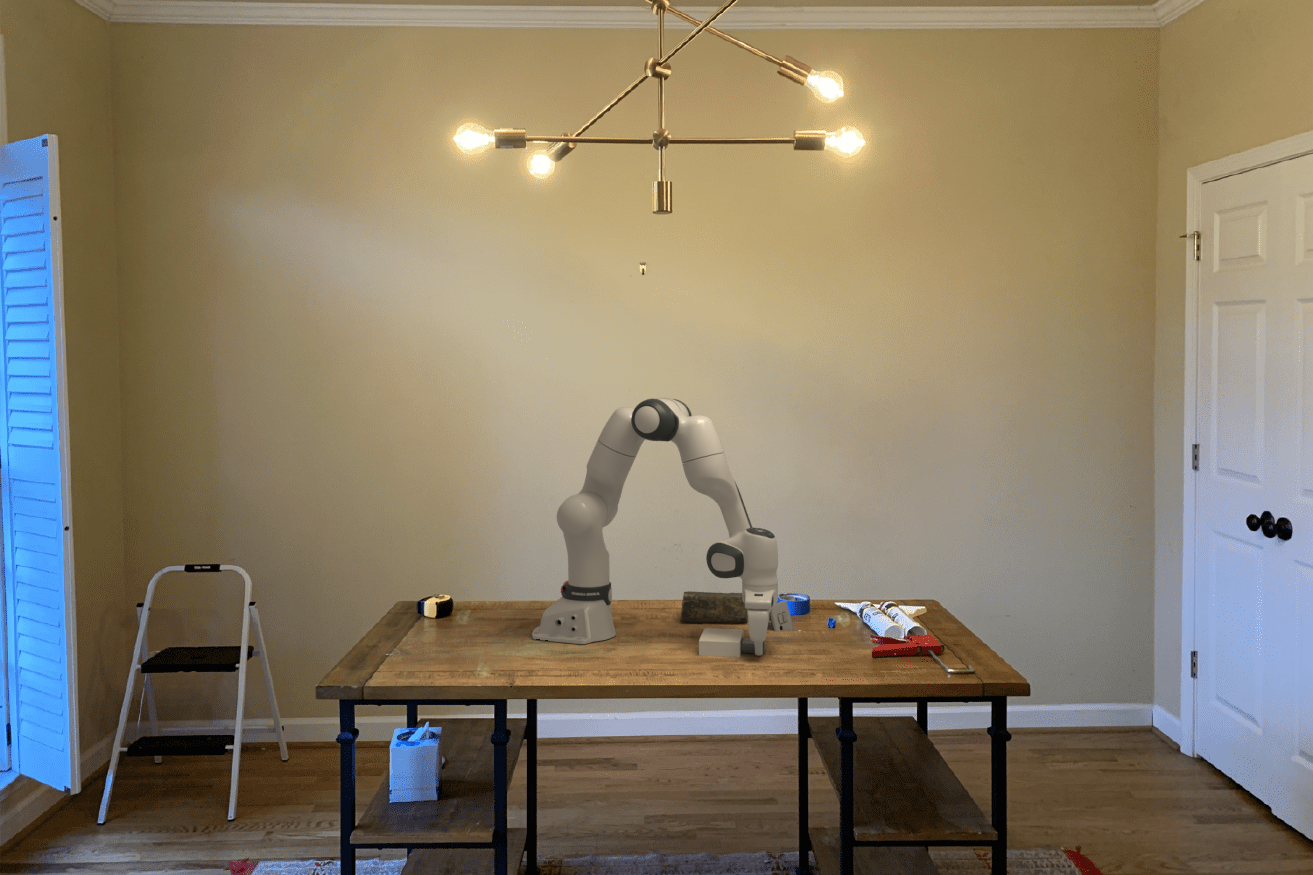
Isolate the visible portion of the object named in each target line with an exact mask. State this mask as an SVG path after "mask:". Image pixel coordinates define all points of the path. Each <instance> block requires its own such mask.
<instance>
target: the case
mask: <svg viewBox="0 0 1313 875" xmlns="http://www.w3.org/2000/svg"><path fill="white" fill-rule="evenodd" d="M744 632H745V631H744V628H743V629H739V628H715V627H713V628H712V627H703V630H702V632H701V635H700V637H699V640H698V656H702V657H703V656H704V657H720V658H721V657H722V658H723V657H725V658H726V657H727V658H741V656H742V655H741V654H742V653H741V639H742V638H745V637H744Z"/></svg>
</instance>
